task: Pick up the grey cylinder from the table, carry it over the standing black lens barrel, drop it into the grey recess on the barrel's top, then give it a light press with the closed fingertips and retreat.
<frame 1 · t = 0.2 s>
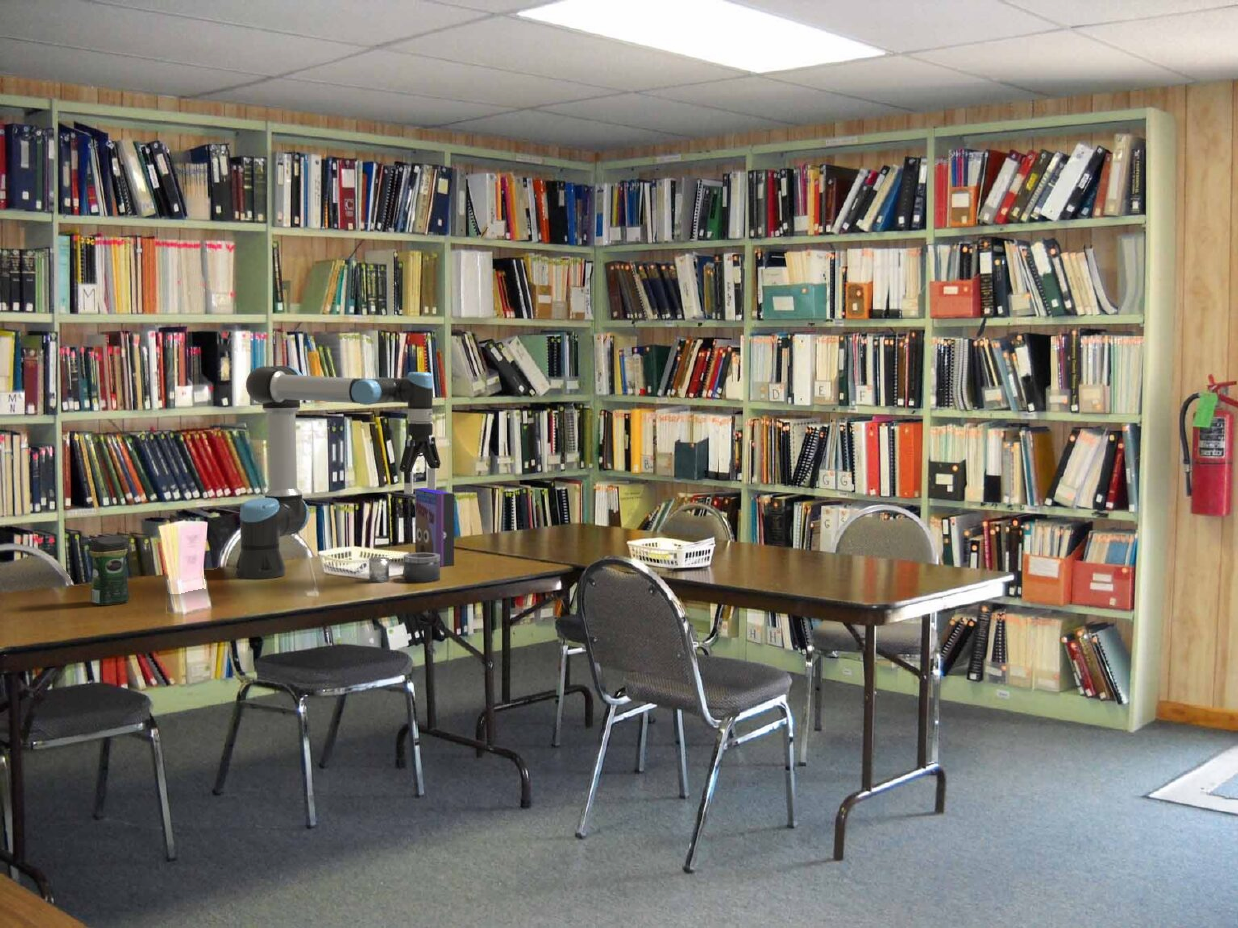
hand: (420, 491, 411), 27 cm above the table, fingers open, 13 cm apart
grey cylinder: (379, 581, 408), on the table
cereal box: (434, 563, 443), on the table
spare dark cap: (412, 575, 419), on the table
coffee jar: (109, 603, 369), on the table
lens barrel: (421, 579, 411), on the table
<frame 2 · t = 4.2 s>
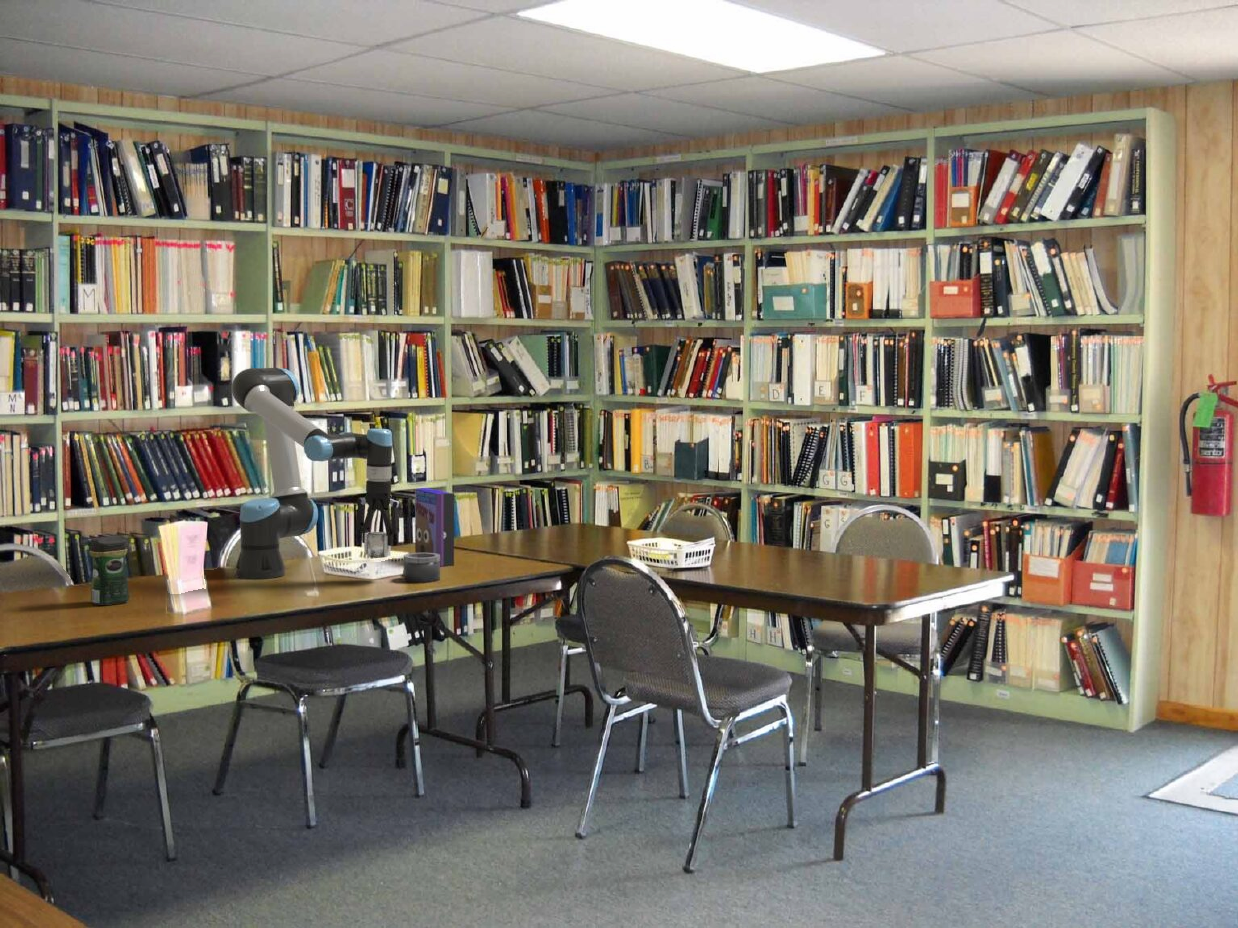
hand: (377, 554, 407), 8 cm above the table, fingers closed on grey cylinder, 6 cm apart
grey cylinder: (377, 556, 407), point 8 cm above the table, touching gripper
everything else where it was.
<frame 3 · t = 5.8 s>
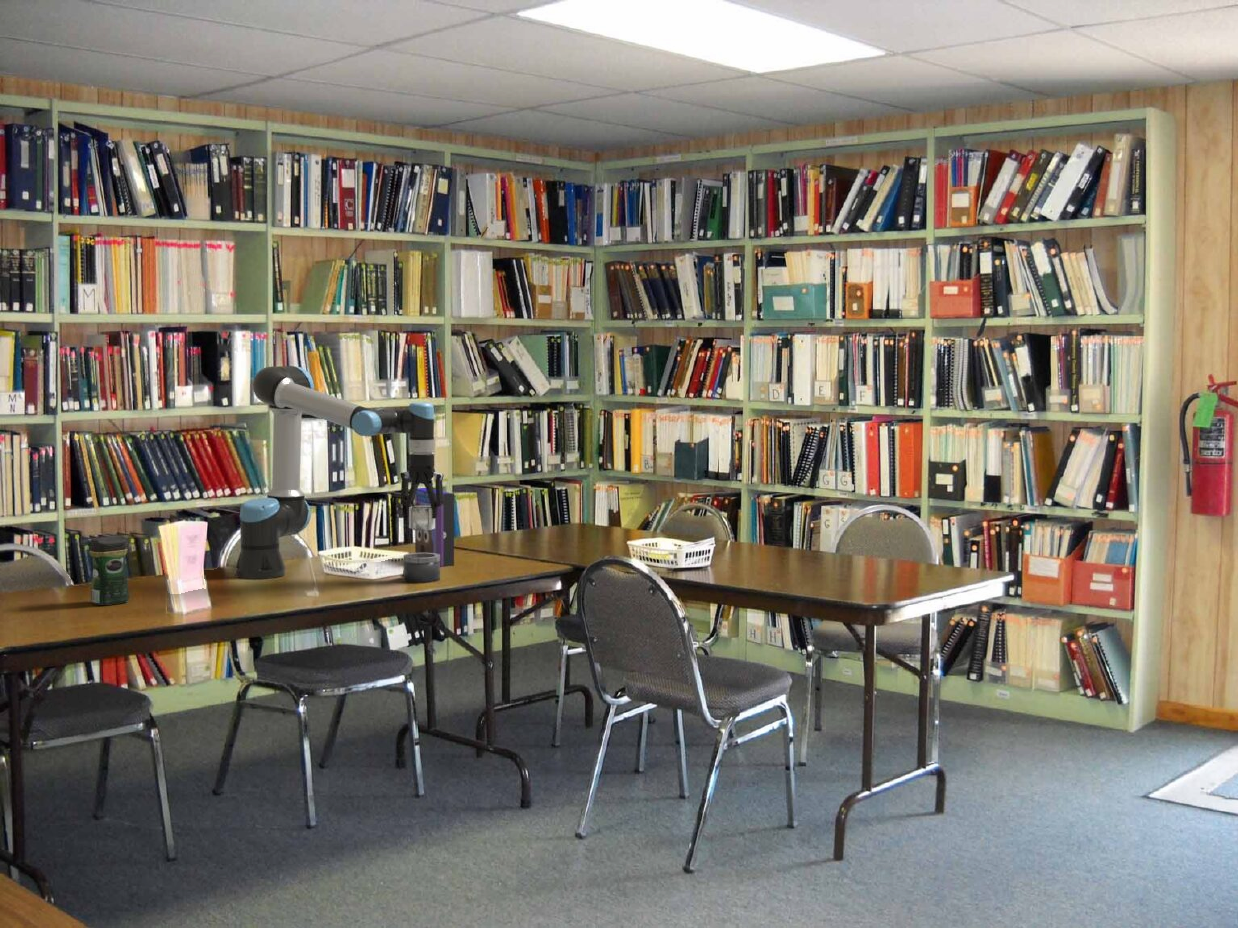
hand: (422, 528, 410), 16 cm above the table, fingers closed on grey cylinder, 6 cm apart
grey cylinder: (421, 529, 410), point 16 cm above the table, touching gripper
everything else where it was.
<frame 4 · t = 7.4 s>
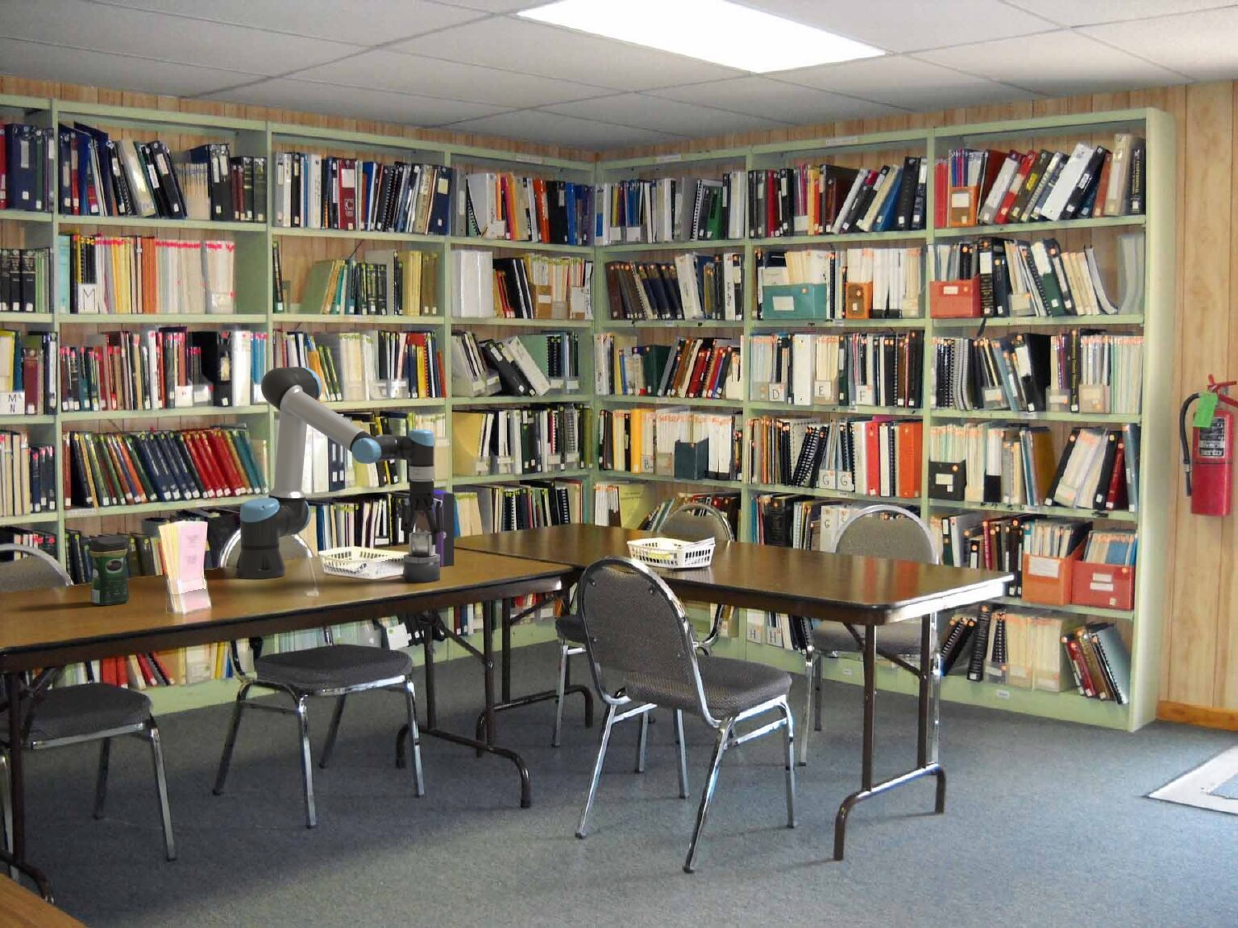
hand: (422, 554, 410), 8 cm above the table, fingers closed on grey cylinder, 6 cm apart
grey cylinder: (422, 555, 410), point 7 cm above the table, touching gripper
everything else where it was.
when the fingers open (8 cm above the table, at t = 7.7 s): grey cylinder stays where it is, resting on lens barrel.
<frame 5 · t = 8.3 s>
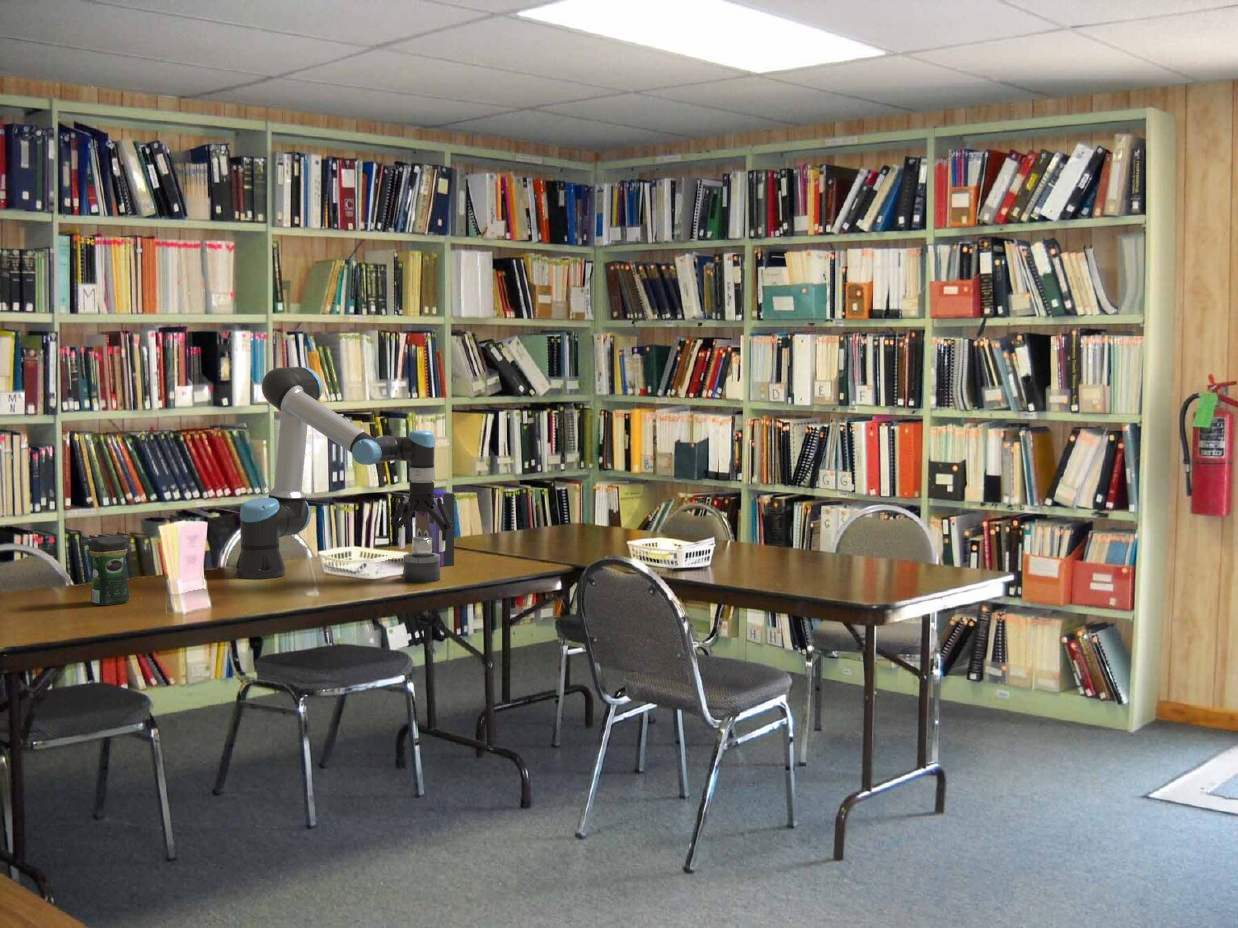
hand: (421, 549, 410), 9 cm above the table, fingers open, 13 cm apart
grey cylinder: (422, 560, 411), point 6 cm above the table, touching lens barrel
everything else where it was.
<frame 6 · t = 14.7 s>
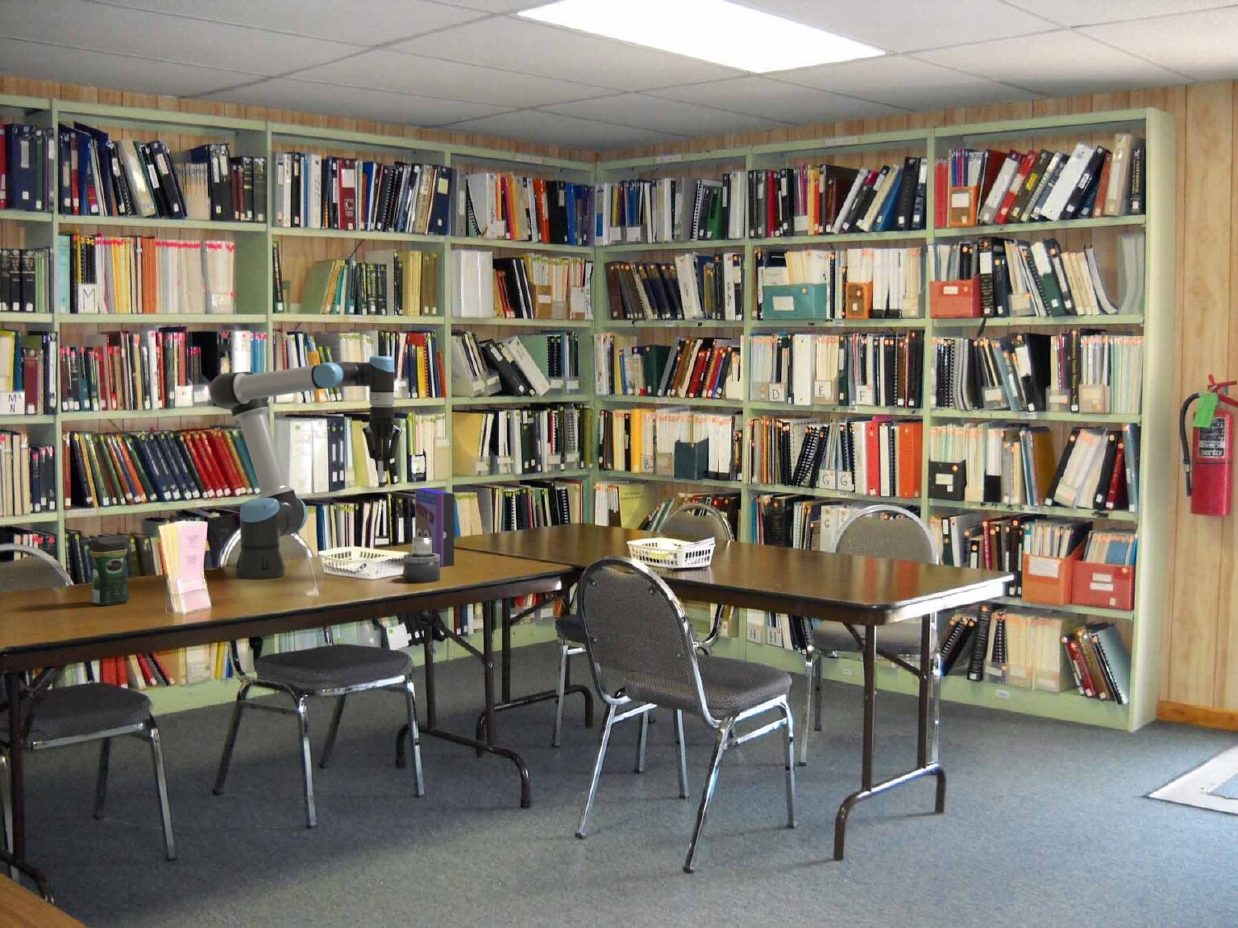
hand: (382, 481, 416), 29 cm above the table, fingers closed
nothing on the table moved.
at the end: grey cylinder 0.1 cm from the lens barrel (horizontally); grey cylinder 0.1 cm off-centre on the lens barrel, point 6.0 cm above the lens barrel's base; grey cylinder tilted 0° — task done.
